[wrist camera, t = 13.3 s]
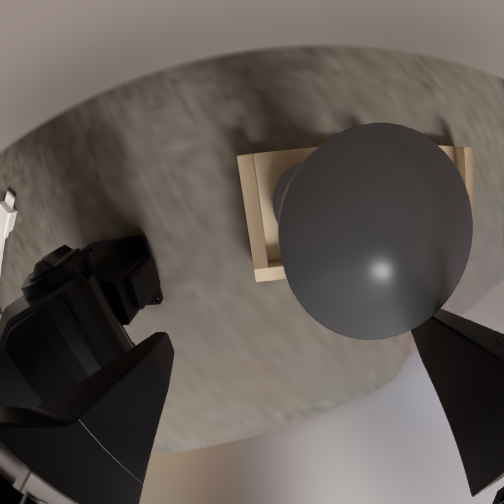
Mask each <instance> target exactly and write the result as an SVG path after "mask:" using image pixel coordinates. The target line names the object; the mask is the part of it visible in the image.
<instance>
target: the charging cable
mask: <svg viewBox="0 0 504 504" xmlns="http://www.w3.org/2000/svg"><path fill="white" fill-rule="evenodd" d="M14 201H15V197H14V195H13V194H12V193H11V192H9V191H7V194H6V197H5V201H2V202H0V274H1V265H2V257H3V250H4V244H5V238H7V237H8V235H9V232H10V231H13V227H14V222H15V218H16V214H17V211H16V209H15V208H14V207H13V205H14ZM1 317H2V314H1V313H0V319H1Z"/></svg>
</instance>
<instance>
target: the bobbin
mask: <svg viewBox="0 0 504 504" xmlns="http://www.w3.org/2000/svg"><path fill="white" fill-rule="evenodd" d="M273 209H274V215H275V218H276V221H277V223H278V238H279V246H280V252H281V259H282V263H283V267H284V271H285V275H286V278H287V280H288V282H289V285H290V287H291V290H292V291H293V293H294V295H295V296H296V298H297V300H298V301H299V303H300V304H301V305H302V307H303V308H304V309H305V310H306V312H307V313H308V314H310V315H311V316H312V317H313V318H314V319H315V320H316V321H317V322H319V323H320V324H322V325H323V326H324V327H326V328H328V329H330V330H331V331H333V332H335V333H338V334H340V335H343V336H347V337H350V338H356V339H363V340H376V339H385V338H390V337H394V336H397V335H400V334H403V333H405V332H408V331H410V330H412V329H414V328H416V327H417V326H419V325H420V324H422V323H423V322H425V321H426V320H428V319H429V318H430V317H431V316H433V315H434V314H435V313H436V312H437V311H438V310H439V309H440V308H441V307H442V306H443V305H444V304H445V302H446V301H447V300H448V298H449V297H450V296H451V294H452V293H453V291H454V290H455V288H456V286H457V285H458V283H459V281H460V279H461V277H462V275H463V272H464V270H465V267H466V264H467V261H468V258H469V253H470V249H471V243H472V233H473V220H472V209H471V204H470V199H469V195H468V192H467V189H466V186H465V183H464V181H463V179H462V177H461V175H460V173H459V171H458V169H457V168H456V166H455V164H454V163H453V161H452V160H451V159H450V158H449V156H448V155H447V154H446V153H445V151H444V150H442V149H441V148H440V147H439V146H438V145H437V144H436V143H435V142H434V141H432V140H431V139H429V138H428V137H427V136H425V135H423V134H421V133H419V132H417V131H415V130H413V129H411V128H408V127H405V126H402V125H397V124H391V123H370V124H364V125H359V126H356V127H353V128H350V129H347V130H345V131H343V132H341V133H339V134H337V135H335V136H333V137H332V138H331V139H329V140H328V141H326V142H325V143H324V144H322V145H321V146H319V147H318V148H317V149H315V150H314V151H313V152H312V153H311V154H310V155H309V156H308V157H306V158H305V159H304V160H303V162H301V163H299V164H297V165H295V166H293V167H292V168H291V169H289V170H288V171H287V172H286V173H285V174H284V175H283V176H282V177H281V178H280V180H279V182H278V183H277V186H276V188H275V191H274V195H273Z"/></svg>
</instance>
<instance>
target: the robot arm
mask: <svg viewBox="0 0 504 504" xmlns="http://www.w3.org/2000/svg"><path fill="white" fill-rule="evenodd" d="M139 238H140V239H142V243H141V242H140V241H139ZM91 247H92V248H93V250H92V249H91ZM21 290H22V292H23V294H24V295H23V296H22V297H20V298H19V299H17V300H16V301H15V302H13V303H12V304H10V305H9V306H7V307H6V308H5V310H4V312H3V314H2V317H1V319H0V504H139V501H140V497H141V492H142V488H143V483H144V479H145V475H146V471H147V466H148V462H149V458H150V455H151V451H152V447H153V443H154V439H155V435H156V432H157V428H158V424H159V420H160V417H161V413H162V410H163V406H164V403H165V399H166V396H167V392H168V388H169V383H170V377H171V371H172V365H173V359H174V349H173V346H172V344H171V341H170V338H169V336H168V334H167V333H166V332H156V333H154V334H153V335H151V336H150V337H148V338H147V339H145V340H144V341H142V342H141V343H139V344H138V345H135V344H134V343H133V342H132V341H131V339H130V338H129V336H128V334H127V332H126V331H125V329H124V327H123V325H129V324H130V323H131V321H132V320H133V318H134V317H135V316H136V314H137V313H138V311H139V310H140V309H143V308H144V307H145V306H146V305H157V304H160V303H161V302H162V301H163V296H162V293H161V289H160V280H159V277H158V273H157V270H156V266H155V262H154V259H153V258H152V257H151V254H150V250H149V246H148V242H147V239H146V237H145V236H144V235H143V234H139V235H133V236H127V237H122V238H116V239H110V240H105V241H99V242H94V243H91V244H89V245H88V246H87V247H84V248H82V249H79V248H77V249H71V248H70V247H68V246H67V245H63V246H61V247H59V248H58V249H56V250H54V251H52V252H51V253H49V254H48V255H46V256H45V257H43V258H42V259H41V260H40V261H39V262H38V263H36V264H35V268H34V272H32V273H31V274H29V276H28V277H27V279H26V280H25V282H24V283H23V285H22V286H21ZM156 297H157V298H159V300H157V299H156ZM411 332H412V335H413V338H414V340H415V343H416V346H417V349H418V351H419V354H420V357H421V359H422V362H423V364H424V366H425V368H426V370H427V372H428V374H429V377H430V379H431V381H432V383H433V386H434V388H435V390H436V392H437V395H438V397H439V400H440V402H441V404H442V407H443V409H444V412H445V414H446V417H447V419H448V422H449V424H450V427H451V430H452V432H453V435H454V438H455V441H456V444H457V447H458V450H459V453H460V456H461V459H462V462H463V466H464V469H465V473H466V476H467V480H468V484H469V487H470V492H471V495H472V497H474V496H475V495H477V494H479V493H480V492H482V491H483V490H485V489H487V488H488V487H489V486H491V485H493V484H494V483H496V482H497V481H498V480H500V479H501V478H503V477H504V334H502V333H500V332H497V331H493V330H492V329H490V328H487V327H485V326H483V325H480V324H478V323H475V322H473V321H470V320H468V319H465V318H463V317H460V316H458V315H455V314H453V313H450V312H448V311H445V310H443V309H439V310H438V311H437V312H436V313H435V314H434V315H433V316H431V317H430V318H429V319H428V320H426V321H425V322H423V323H422V324H420V325H419V326H417V327H416V328H414V329H412V330H411ZM493 504H504V487H503V488H501V489H500V490H499V491H497V494H496V496H495V499H494V501H493Z"/></svg>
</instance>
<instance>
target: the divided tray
mask: <svg viewBox="0 0 504 504" xmlns="http://www.w3.org/2000/svg"><path fill="white" fill-rule="evenodd" d="M438 146H439V145H438ZM439 147H440V148H441V149H442V150H444V151H445V153H446V154H447V155H448V156H449V158H450V159H451V160H452V161H453V163H454V164H455V166H456V168H457V169H458V171H459V173H460V175H461V177H462V179H463V181H464V183H465V186H466V189H467V192H468V195H469V199H470V204H471V209H472V214H473V158H472V148H468V147H454V146H439ZM317 148H318V147H311V148H300V149H290V150H280V151H272V152H264V153H256V154H247V155H240V156H237V160H238V166H239V173H240V180H241V186H242V193H243V199H244V206H245V212H246V219H247V226H248V232H249V239H250V245H251V252H252V258H253V265H254V271H255V278H256V282H261V281H270V280H278V279H287V278H286V275H285V271H284V267H283V263H282V259H281V252H280V246H279V238H278V223H277V221H276V218H275V215H274V209H273V195H274V191H275V188H276V186H277V183H278V182H279V180H280V178H281V177H282V176H283V175H284V174H285V173H286V172H287V171H288V170H289V169H291V168H292V167H293V166H295V165H297V164H299V163H301V162H303V160H304V159H305V158H306V157H308V156H309V155H310V154H311V153H312V152H313V151H314V150H315V149H317Z"/></svg>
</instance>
